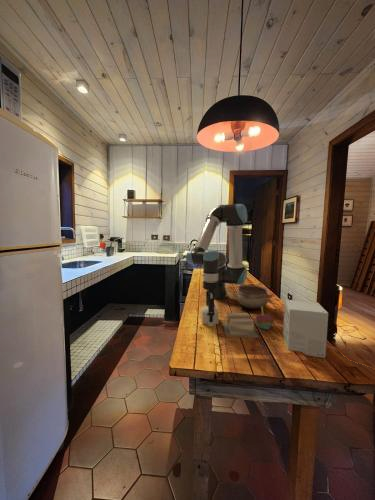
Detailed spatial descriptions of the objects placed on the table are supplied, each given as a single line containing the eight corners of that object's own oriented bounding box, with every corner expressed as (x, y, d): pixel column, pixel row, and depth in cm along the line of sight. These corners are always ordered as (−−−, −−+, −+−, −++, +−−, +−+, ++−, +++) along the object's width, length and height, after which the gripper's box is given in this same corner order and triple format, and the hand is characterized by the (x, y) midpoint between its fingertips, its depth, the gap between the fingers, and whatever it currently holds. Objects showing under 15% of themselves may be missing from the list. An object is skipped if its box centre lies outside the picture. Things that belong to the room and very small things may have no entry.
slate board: (222, 325, 108) (222, 322, 108) (250, 325, 108) (250, 323, 108) (226, 339, 94) (226, 336, 94) (259, 339, 94) (259, 337, 94)
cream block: (201, 319, 115) (201, 306, 114) (216, 319, 115) (216, 307, 114) (202, 326, 107) (202, 312, 107) (218, 326, 107) (218, 312, 106)
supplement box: (315, 341, 93) (318, 301, 92) (326, 358, 81) (329, 313, 79) (282, 337, 97) (284, 298, 95) (287, 352, 84) (289, 309, 83)
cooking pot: (268, 303, 142) (269, 285, 141) (277, 314, 123) (278, 293, 122) (229, 301, 144) (230, 283, 143) (232, 312, 125) (233, 291, 124)
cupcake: (261, 333, 99) (263, 308, 98) (251, 326, 108) (252, 302, 107) (277, 331, 102) (279, 306, 101) (266, 324, 110) (267, 301, 109)
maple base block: (226, 324, 106) (227, 312, 105) (247, 325, 106) (247, 313, 105) (230, 334, 96) (231, 321, 95) (253, 334, 96) (253, 321, 95)
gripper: (201, 275, 121) (201, 313, 123) (204, 286, 97) (203, 333, 99) (215, 276, 121) (214, 313, 123) (221, 287, 97) (220, 333, 99)
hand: (209, 322), depth 111 cm, fingers open, 12 cm apart
